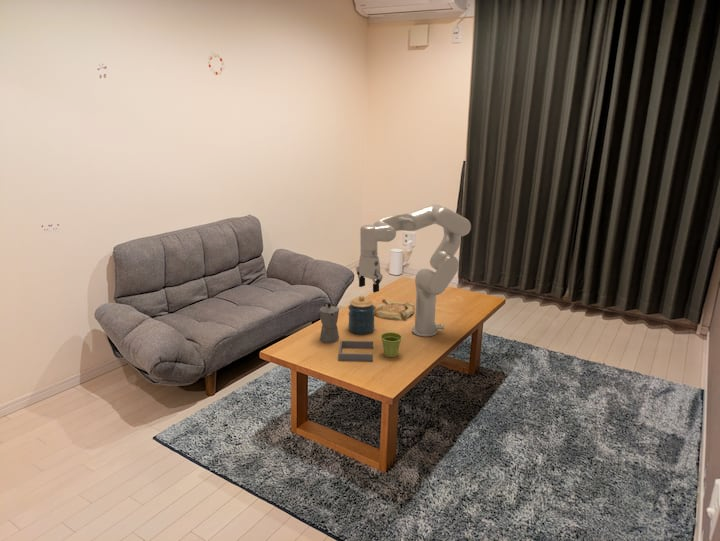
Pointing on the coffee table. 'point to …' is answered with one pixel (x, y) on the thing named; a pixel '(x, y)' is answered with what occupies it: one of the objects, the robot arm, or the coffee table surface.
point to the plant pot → (391, 343)
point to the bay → (355, 356)
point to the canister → (361, 316)
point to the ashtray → (394, 310)
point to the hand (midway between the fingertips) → (368, 289)
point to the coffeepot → (329, 323)
